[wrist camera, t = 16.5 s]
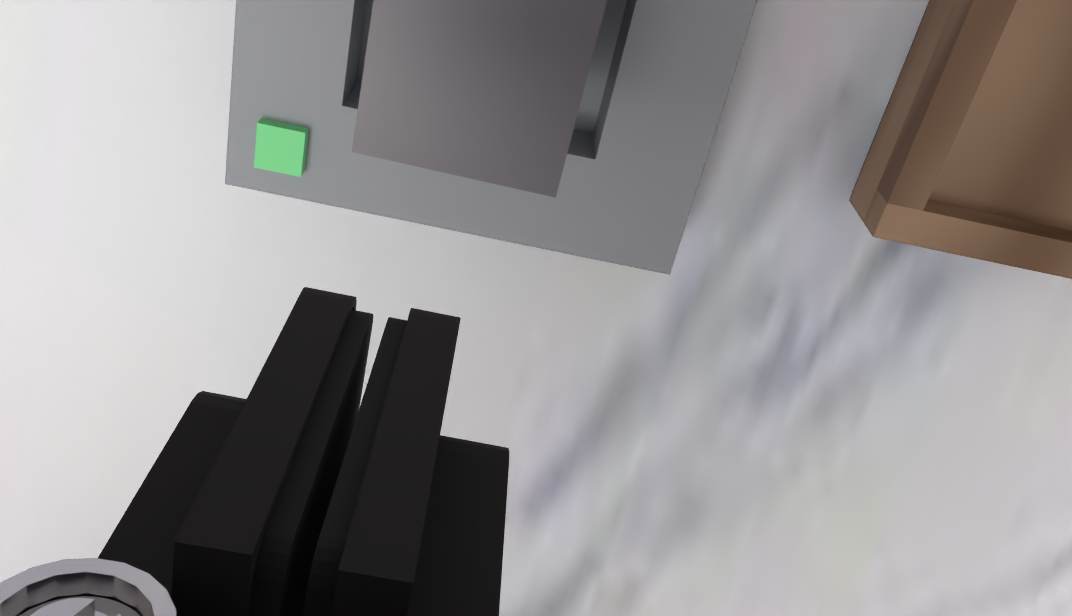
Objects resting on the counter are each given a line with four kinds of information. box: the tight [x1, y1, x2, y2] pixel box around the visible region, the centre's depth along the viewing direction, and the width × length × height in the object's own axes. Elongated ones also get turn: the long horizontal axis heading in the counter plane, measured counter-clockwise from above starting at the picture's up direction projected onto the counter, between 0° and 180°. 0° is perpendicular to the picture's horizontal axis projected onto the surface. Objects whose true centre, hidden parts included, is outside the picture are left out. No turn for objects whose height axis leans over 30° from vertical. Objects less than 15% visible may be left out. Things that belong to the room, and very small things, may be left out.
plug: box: [352, 0, 607, 198], centre depth 21 cm, size 4×4×8 cm
